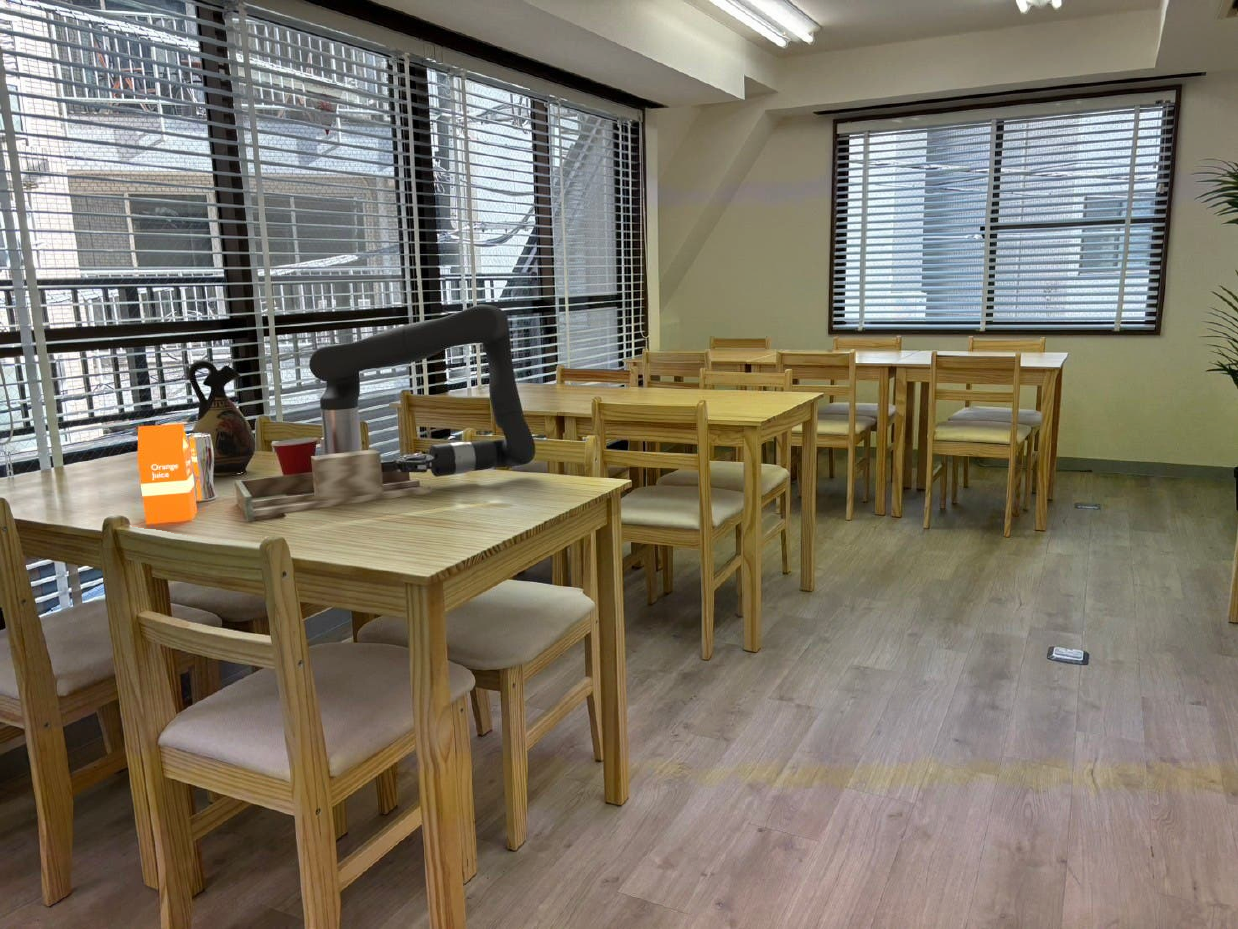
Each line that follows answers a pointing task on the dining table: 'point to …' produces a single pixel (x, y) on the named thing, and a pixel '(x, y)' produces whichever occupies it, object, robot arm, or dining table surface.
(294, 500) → the board
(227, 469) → the ceramic jug
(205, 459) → the beer glass
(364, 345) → the robot arm
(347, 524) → the dining table surface
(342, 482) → the beech block
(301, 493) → the pads
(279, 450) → the plastic cup
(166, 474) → the orange juice
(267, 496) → the pad
